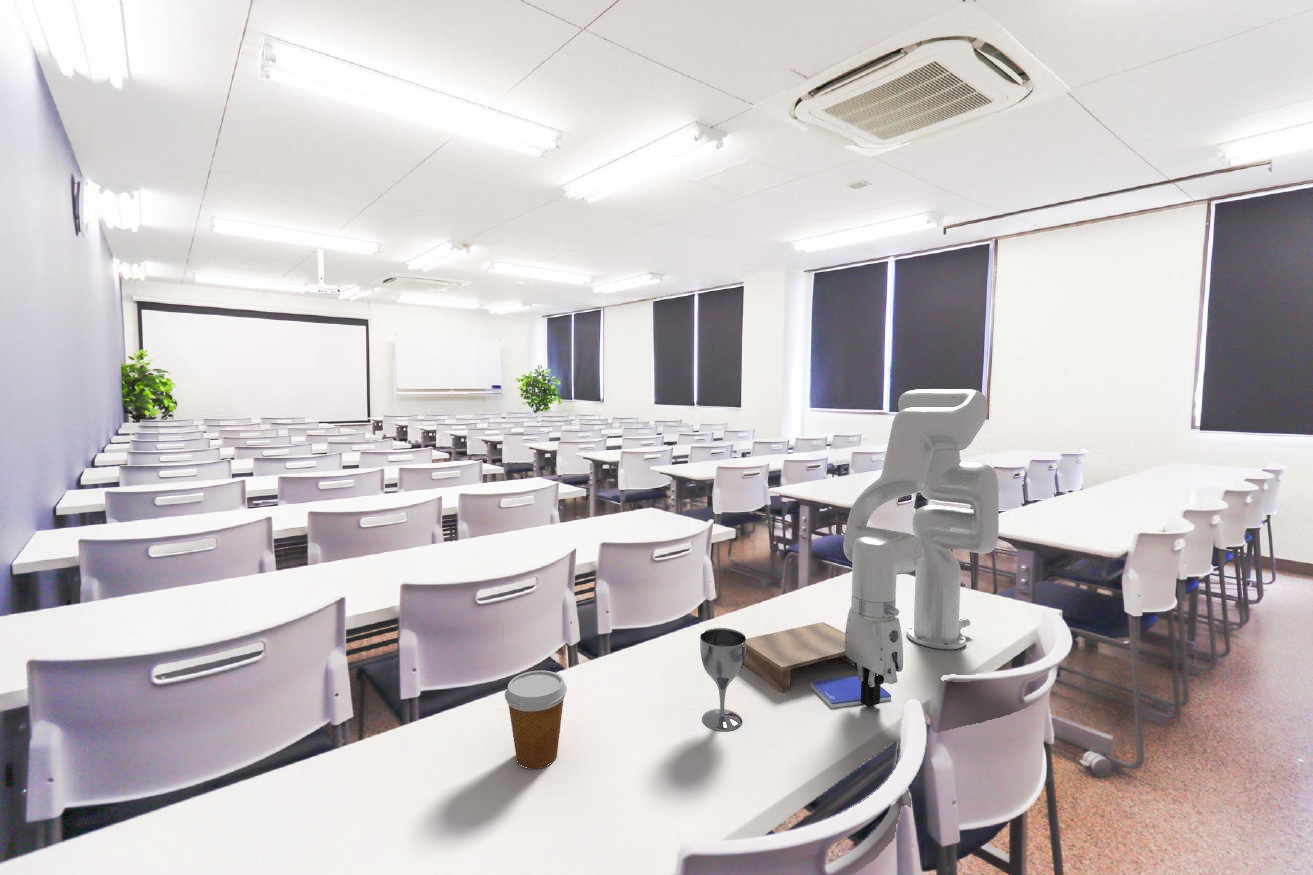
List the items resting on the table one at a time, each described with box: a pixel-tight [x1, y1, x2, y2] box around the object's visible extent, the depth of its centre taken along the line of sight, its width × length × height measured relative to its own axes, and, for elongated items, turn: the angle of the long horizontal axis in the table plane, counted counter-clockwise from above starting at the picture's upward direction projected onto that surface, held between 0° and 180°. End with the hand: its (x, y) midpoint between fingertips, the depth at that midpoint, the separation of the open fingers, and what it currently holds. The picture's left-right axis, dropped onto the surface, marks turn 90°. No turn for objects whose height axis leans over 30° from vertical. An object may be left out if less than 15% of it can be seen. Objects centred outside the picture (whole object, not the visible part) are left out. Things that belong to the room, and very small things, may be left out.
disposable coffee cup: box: [504, 670, 568, 770], centre depth 92 cm, size 10×10×12 cm
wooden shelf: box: [743, 621, 852, 693], centre depth 123 cm, size 23×14×5 cm, turn 116°
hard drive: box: [809, 676, 892, 709], centre depth 112 cm, size 2×8×12 cm
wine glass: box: [699, 627, 747, 732], centre depth 102 cm, size 8×8×15 cm
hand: (870, 703), depth 107 cm, fingers closed
